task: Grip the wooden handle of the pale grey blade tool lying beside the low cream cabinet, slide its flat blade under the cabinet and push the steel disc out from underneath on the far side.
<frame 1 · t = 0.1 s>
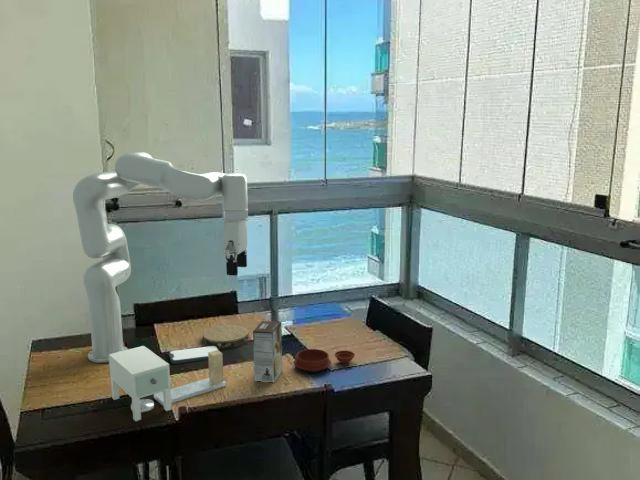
hand: (237, 270, 179), 31 cm above the table, tool pointing down, fingers open, 9 cm apart
steel disc: (142, 408, 159), on the table
tan round flat disc: (225, 341, 207), on the table
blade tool: (216, 384, 173), on the table
phone case: (195, 357, 194), on the table
low cabinet: (141, 403, 161), on the table
pottery: (324, 367, 186), on the table
coffee box: (268, 376, 179), on the table
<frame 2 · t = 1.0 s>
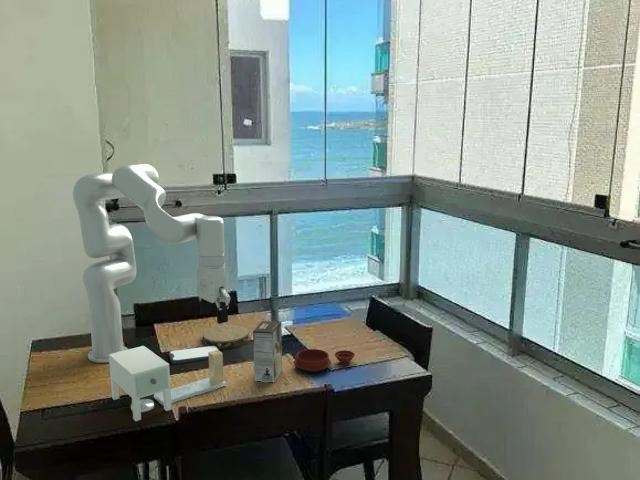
hand: (213, 318, 169), 20 cm above the table, tool pointing down, fingers open, 9 cm apart
nothing on the table moved.
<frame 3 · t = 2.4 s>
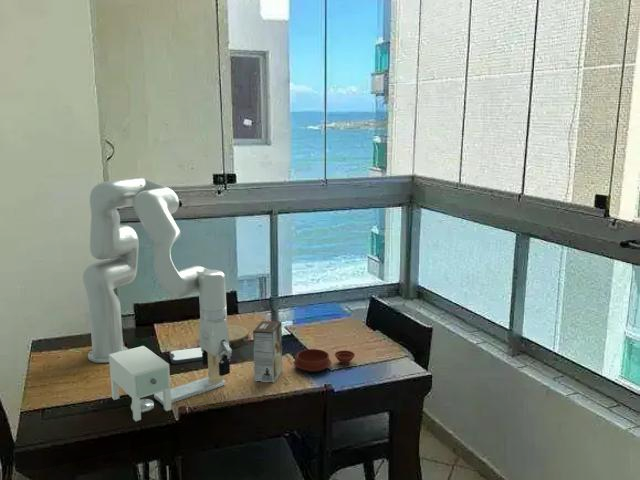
hand: (216, 369, 172), 5 cm above the table, tool pointing down, fingers open, 9 cm apart
nothing on the table moved.
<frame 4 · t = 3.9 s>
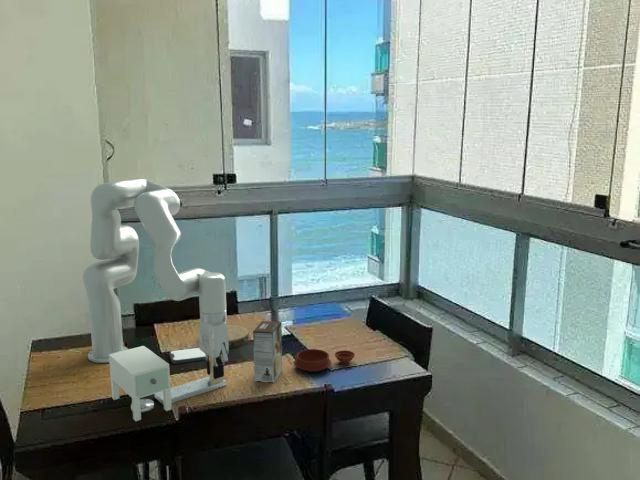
hand: (215, 374, 173), 3 cm above the table, tool pointing down, fingers closed on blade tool, 3 cm apart
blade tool: (216, 383, 174), on the table, touching gripper
everything else where it was.
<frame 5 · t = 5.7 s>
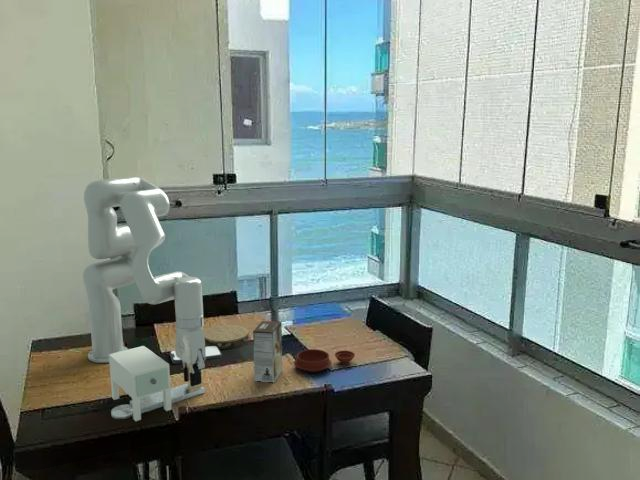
hand: (192, 382, 168), 3 cm above the table, tool pointing down, fingers closed on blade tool, 3 cm apart
steel disc: (123, 414, 156), on the table
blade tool: (195, 390, 169), on the table, touching gripper
everything else where it was.
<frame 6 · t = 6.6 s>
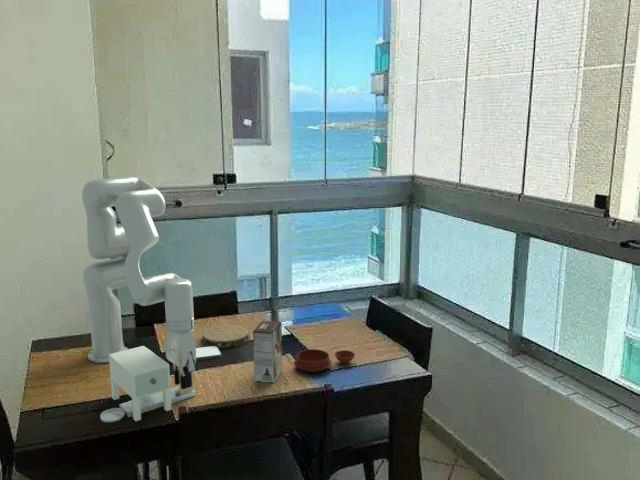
hand: (183, 384, 166), 3 cm above the table, tool pointing down, fingers closed on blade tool, 3 cm apart
steel disc: (112, 417, 154), on the table
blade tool: (186, 393, 167), on the table, touching gripper
everything else where it was.
when the fingers open (3 cm above the table, at t = 7.6 s): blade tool stays where it is, on the table.
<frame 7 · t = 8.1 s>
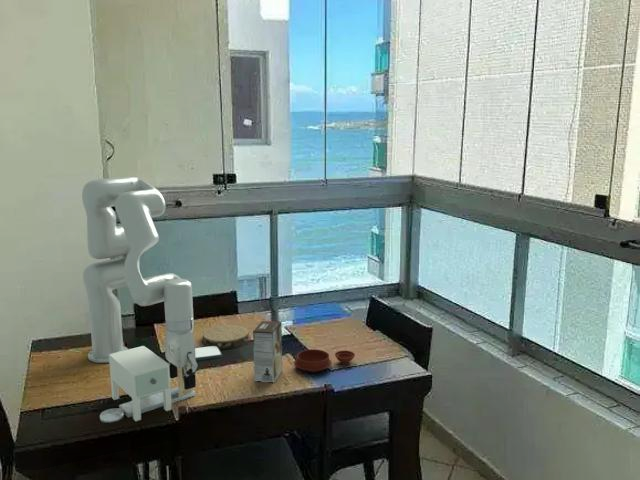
hand: (182, 382, 166), 4 cm above the table, tool pointing down, fingers open, 8 cm apart
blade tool: (185, 394, 167), on the table
everything else where it was.
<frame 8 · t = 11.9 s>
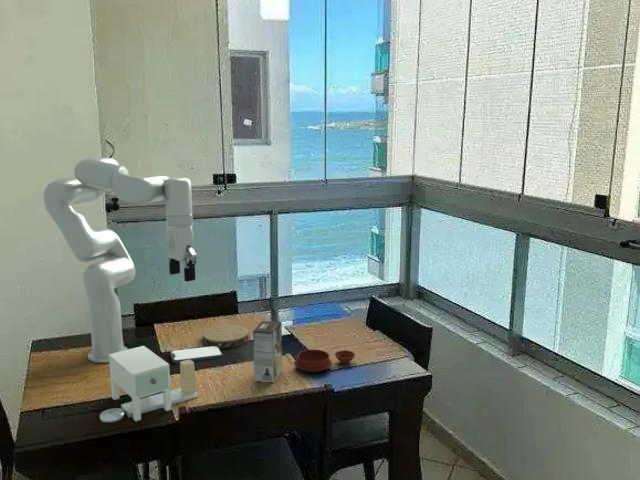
hand: (182, 277, 175), 30 cm above the table, tool pointing down, fingers open, 9 cm apart
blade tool: (188, 395, 167), on the table
everything else where it was.
at the end: steel disc inside the target area (3.5 cm from its centre), on the table; steel disc moved 8.3 cm from its start; the gripper is holding nothing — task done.
